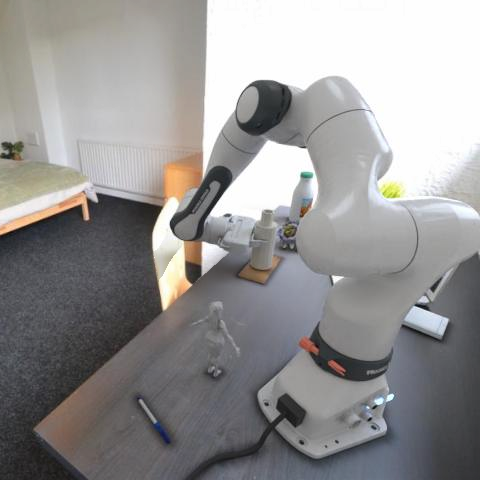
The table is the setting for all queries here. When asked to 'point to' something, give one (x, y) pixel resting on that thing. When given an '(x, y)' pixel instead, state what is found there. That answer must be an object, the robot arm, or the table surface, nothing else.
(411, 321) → the hard drive
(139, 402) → the ballpoint pen
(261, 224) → the bottle
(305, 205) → the milk bottle
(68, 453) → the table surface
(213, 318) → the human figurine
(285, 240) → the passion flower
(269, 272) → the tan flat rectangular board
